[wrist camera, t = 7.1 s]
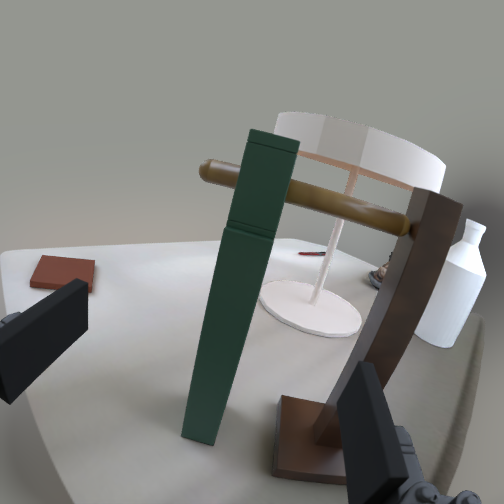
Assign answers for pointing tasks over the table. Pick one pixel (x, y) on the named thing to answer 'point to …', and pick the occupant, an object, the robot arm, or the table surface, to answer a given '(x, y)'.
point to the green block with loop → (238, 278)
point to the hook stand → (378, 321)
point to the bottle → (454, 290)
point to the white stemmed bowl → (357, 162)
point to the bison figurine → (379, 274)
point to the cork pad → (61, 272)
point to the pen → (313, 253)
